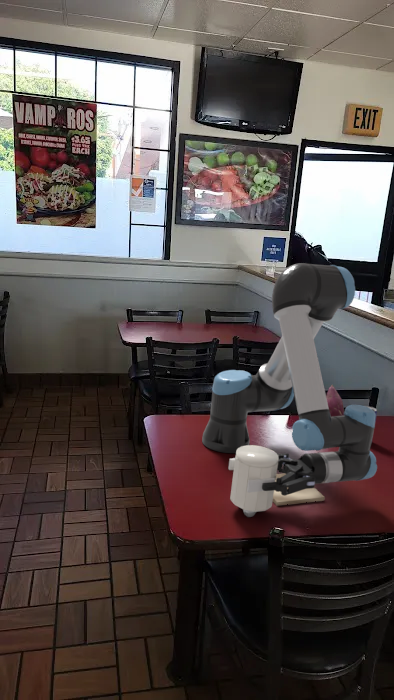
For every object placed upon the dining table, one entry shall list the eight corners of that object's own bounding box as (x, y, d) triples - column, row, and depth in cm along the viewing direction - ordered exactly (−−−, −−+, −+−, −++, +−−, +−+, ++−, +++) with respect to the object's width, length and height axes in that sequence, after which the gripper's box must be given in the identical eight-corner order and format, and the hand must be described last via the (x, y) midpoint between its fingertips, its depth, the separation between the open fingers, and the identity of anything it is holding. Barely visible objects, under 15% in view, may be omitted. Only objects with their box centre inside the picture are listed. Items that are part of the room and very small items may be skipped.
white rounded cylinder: (224, 491, 124) (229, 446, 121) (260, 487, 127) (266, 444, 124) (240, 513, 115) (247, 465, 112) (279, 509, 118) (286, 462, 115)
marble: (240, 513, 120) (241, 502, 120) (251, 512, 121) (253, 500, 121) (245, 520, 118) (247, 508, 117) (257, 518, 119) (258, 507, 118)
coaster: (252, 479, 138) (252, 476, 138) (296, 475, 143) (296, 472, 143) (276, 505, 125) (277, 502, 125) (324, 500, 130) (324, 497, 130)
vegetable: (313, 423, 196) (310, 385, 196) (339, 421, 197) (336, 383, 197) (322, 426, 186) (319, 386, 186) (349, 424, 187) (346, 384, 187)
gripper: (343, 505, 116) (257, 515, 108) (294, 461, 137) (218, 467, 129) (349, 476, 114) (262, 484, 107) (298, 435, 135) (222, 440, 127)
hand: (238, 474), depth 118 cm, fingers closed on white rounded cylinder, 10 cm apart
